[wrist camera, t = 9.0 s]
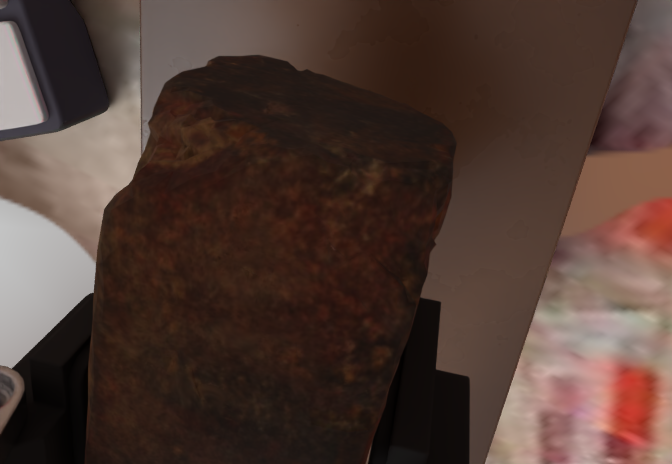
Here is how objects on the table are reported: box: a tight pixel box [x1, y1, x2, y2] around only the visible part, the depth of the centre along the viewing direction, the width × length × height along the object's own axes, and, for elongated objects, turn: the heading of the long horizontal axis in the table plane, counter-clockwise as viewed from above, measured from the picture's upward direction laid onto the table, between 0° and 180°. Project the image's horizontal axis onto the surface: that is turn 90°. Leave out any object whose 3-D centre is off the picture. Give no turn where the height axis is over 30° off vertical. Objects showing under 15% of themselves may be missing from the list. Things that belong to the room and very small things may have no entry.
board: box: [140, 0, 638, 464], centre depth 19 cm, size 12×22×2 cm, turn 172°
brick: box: [84, 55, 457, 464], centre depth 11 cm, size 11×4×5 cm, turn 167°
